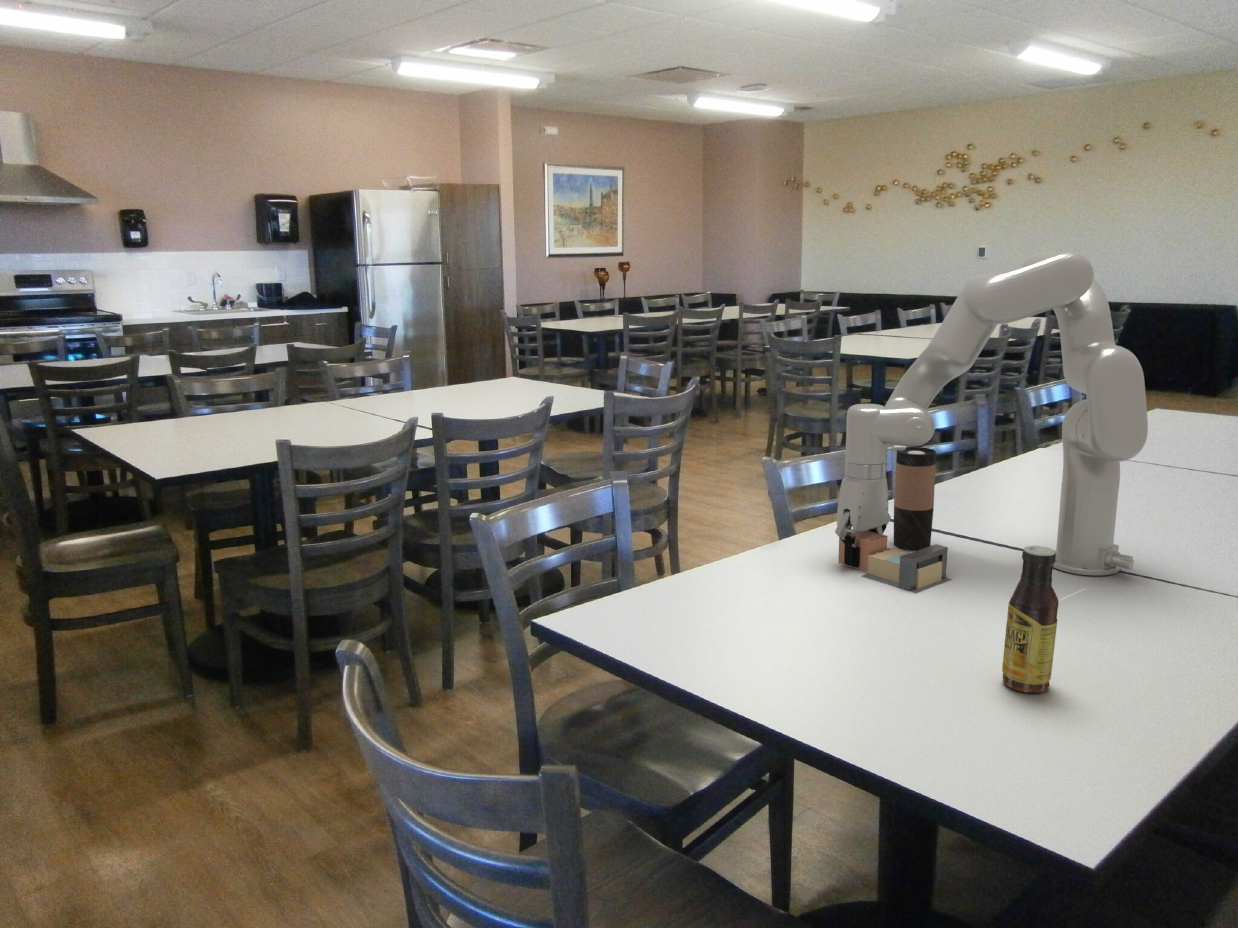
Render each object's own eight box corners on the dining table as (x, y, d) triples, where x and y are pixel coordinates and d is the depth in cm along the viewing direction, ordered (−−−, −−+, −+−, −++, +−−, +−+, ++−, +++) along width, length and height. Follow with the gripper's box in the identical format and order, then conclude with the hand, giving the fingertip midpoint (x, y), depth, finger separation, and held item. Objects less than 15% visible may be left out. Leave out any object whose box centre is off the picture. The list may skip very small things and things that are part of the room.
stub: (886, 566, 180) (887, 535, 178) (867, 572, 176) (869, 541, 175) (856, 557, 185) (857, 527, 184) (838, 563, 182) (839, 533, 180)
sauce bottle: (993, 677, 133) (1002, 542, 129) (1035, 674, 133) (1046, 540, 129) (1016, 698, 127) (1026, 557, 122) (1060, 695, 127) (1073, 555, 123)
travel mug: (933, 553, 187) (938, 454, 183) (893, 551, 189) (897, 454, 184) (929, 541, 194) (934, 447, 190) (890, 540, 196) (894, 446, 192)
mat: (952, 580, 172) (952, 579, 171) (915, 594, 165) (915, 593, 165) (897, 564, 181) (897, 563, 181) (860, 577, 174) (860, 575, 174)
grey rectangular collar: (946, 577, 172) (947, 547, 171) (910, 590, 166) (911, 559, 165) (934, 574, 174) (936, 544, 173) (898, 587, 168) (900, 556, 167)
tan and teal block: (941, 580, 171) (942, 561, 170) (918, 588, 167) (918, 569, 166) (890, 565, 180) (891, 547, 179) (867, 573, 175) (868, 555, 175)
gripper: (878, 460, 185) (874, 548, 189) (819, 474, 174) (817, 566, 178) (910, 466, 179) (906, 557, 183) (852, 481, 169) (848, 577, 173)
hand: (862, 561), depth 180 cm, fingers closed on stub, 5 cm apart
